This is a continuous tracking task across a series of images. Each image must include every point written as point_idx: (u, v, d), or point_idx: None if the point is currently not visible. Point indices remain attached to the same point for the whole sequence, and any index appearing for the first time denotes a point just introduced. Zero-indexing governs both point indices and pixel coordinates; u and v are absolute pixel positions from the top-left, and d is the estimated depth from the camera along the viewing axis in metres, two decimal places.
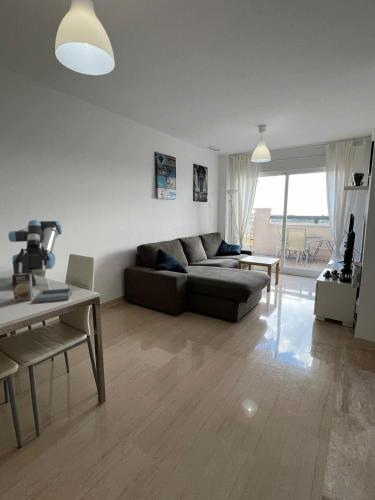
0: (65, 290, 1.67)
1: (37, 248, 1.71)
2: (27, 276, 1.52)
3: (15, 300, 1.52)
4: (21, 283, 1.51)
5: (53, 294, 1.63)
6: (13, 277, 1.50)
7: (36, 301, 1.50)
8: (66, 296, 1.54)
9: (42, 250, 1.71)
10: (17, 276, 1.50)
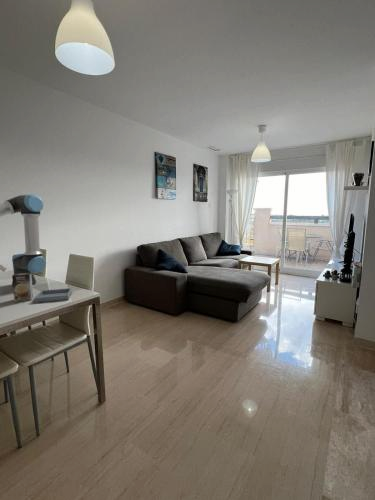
0: (65, 290, 1.67)
1: None
2: (27, 276, 1.52)
3: (15, 300, 1.52)
4: (21, 283, 1.51)
5: (53, 294, 1.63)
6: (13, 277, 1.50)
7: (36, 301, 1.50)
8: (66, 296, 1.54)
9: None
10: (17, 276, 1.50)
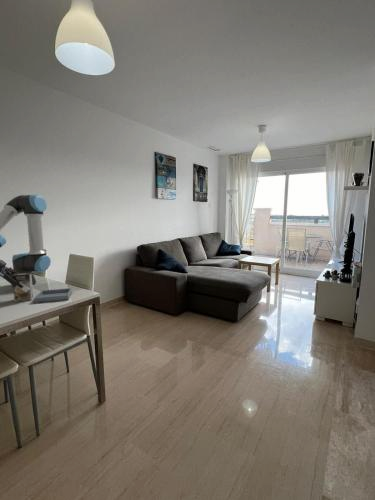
0: (65, 290, 1.67)
1: None
2: (27, 276, 1.52)
3: (15, 300, 1.52)
4: None
5: (53, 294, 1.63)
6: None
7: (36, 301, 1.50)
8: (66, 296, 1.54)
9: None
10: (17, 276, 1.50)
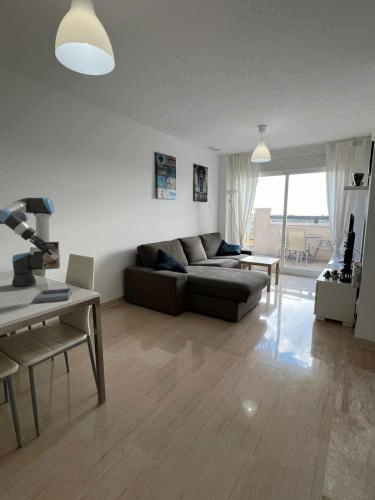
0: (65, 290, 1.67)
1: None
2: (56, 244, 1.54)
3: (44, 267, 1.53)
4: None
5: (53, 294, 1.63)
6: None
7: (36, 301, 1.50)
8: (66, 296, 1.54)
9: (33, 243, 1.48)
10: (46, 243, 1.52)
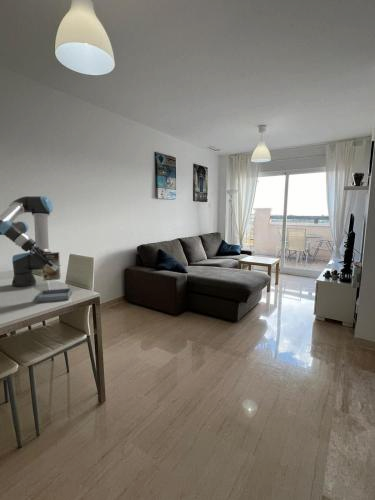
0: (65, 290, 1.67)
1: None
2: (56, 255, 1.53)
3: (44, 279, 1.53)
4: None
5: (53, 294, 1.63)
6: None
7: (36, 301, 1.50)
8: (66, 296, 1.54)
9: (34, 255, 1.48)
10: (46, 255, 1.52)
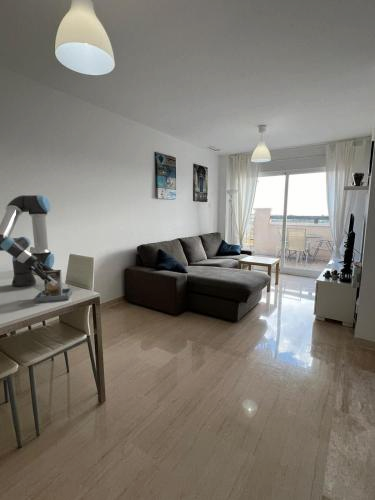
0: (65, 290, 1.67)
1: None
2: (58, 273, 1.55)
3: (46, 296, 1.55)
4: None
5: None
6: None
7: (36, 301, 1.50)
8: (66, 296, 1.54)
9: None
10: (48, 273, 1.54)
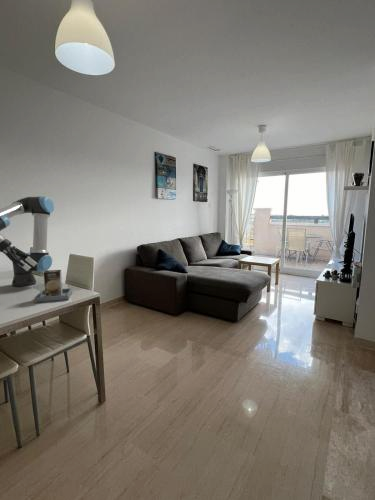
0: (65, 290, 1.67)
1: None
2: (58, 273, 1.55)
3: (46, 296, 1.55)
4: (52, 280, 1.55)
5: None
6: (44, 274, 1.53)
7: (36, 301, 1.50)
8: (66, 296, 1.54)
9: None
10: (48, 273, 1.54)
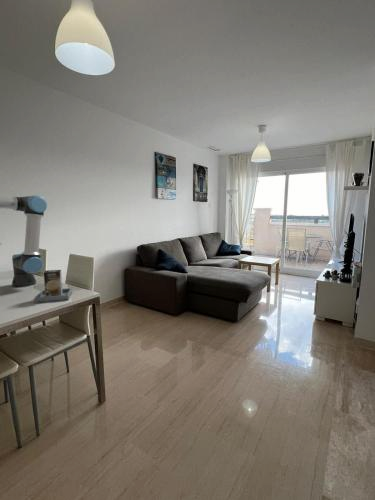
0: (65, 290, 1.67)
1: None
2: (58, 273, 1.55)
3: (46, 296, 1.55)
4: (52, 280, 1.55)
5: None
6: (44, 274, 1.53)
7: (36, 301, 1.50)
8: (66, 296, 1.54)
9: None
10: (48, 273, 1.54)
